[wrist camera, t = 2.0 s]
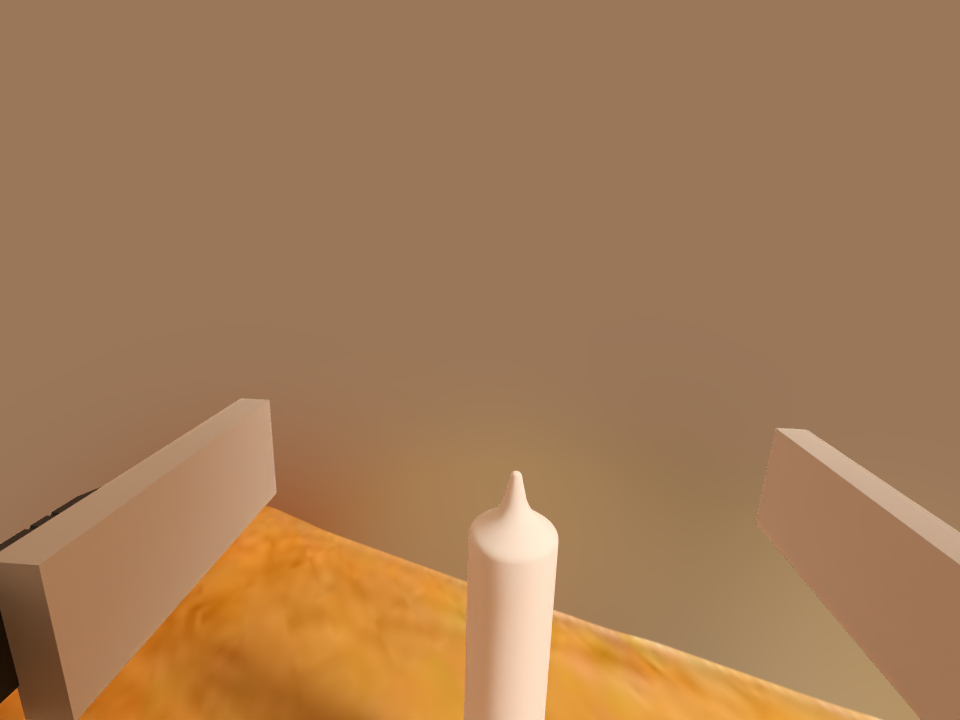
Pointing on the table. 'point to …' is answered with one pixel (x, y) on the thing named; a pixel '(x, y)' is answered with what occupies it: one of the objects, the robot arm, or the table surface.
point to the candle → (509, 609)
